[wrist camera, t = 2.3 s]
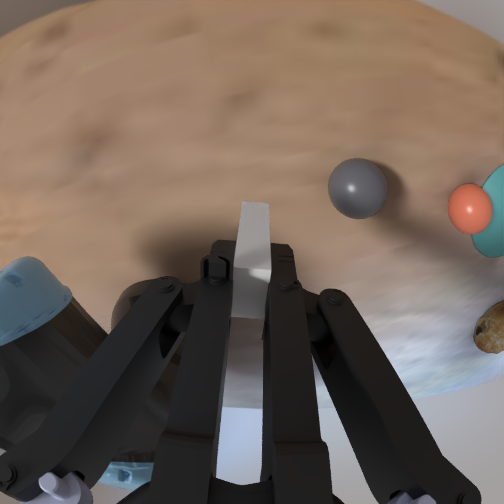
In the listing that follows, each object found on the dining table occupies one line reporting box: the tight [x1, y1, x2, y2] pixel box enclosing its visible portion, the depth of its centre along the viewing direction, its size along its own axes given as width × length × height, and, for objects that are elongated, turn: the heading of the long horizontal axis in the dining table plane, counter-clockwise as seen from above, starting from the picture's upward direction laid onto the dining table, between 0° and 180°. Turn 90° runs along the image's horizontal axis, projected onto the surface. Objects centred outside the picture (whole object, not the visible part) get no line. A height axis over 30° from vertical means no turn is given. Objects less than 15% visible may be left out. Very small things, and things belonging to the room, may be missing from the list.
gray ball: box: [328, 158, 388, 219], centre depth 26 cm, size 6×6×6 cm
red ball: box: [448, 184, 493, 235], centre depth 26 cm, size 6×6×6 cm
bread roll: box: [474, 301, 504, 354], centre depth 38 cm, size 10×10×8 cm
